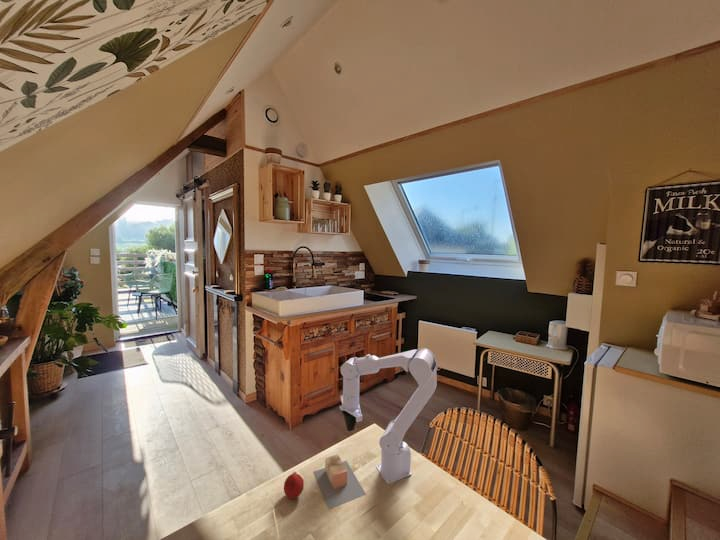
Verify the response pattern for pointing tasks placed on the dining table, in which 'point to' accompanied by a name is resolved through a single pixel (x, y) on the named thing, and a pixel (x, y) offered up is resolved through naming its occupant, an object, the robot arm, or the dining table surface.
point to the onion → (293, 485)
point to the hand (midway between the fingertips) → (350, 429)
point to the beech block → (336, 471)
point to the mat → (342, 493)
